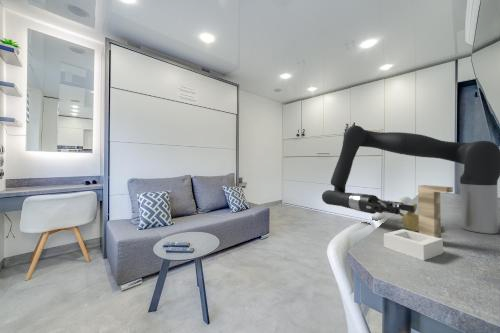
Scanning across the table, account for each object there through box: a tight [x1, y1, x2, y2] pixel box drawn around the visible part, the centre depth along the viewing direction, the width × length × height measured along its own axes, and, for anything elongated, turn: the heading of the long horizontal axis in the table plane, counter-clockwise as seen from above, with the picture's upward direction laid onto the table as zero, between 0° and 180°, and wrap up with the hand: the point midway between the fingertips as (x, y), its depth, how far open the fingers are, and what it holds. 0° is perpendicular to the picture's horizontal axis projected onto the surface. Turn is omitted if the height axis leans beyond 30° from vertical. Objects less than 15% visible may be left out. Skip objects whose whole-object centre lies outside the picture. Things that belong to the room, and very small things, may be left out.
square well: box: [383, 228, 444, 261], centre depth 58 cm, size 10×10×4 cm
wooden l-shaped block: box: [417, 184, 454, 239], centre depth 63 cm, size 4×7×18 cm, turn 25°
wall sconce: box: [378, 198, 442, 232], centre depth 83 cm, size 14×10×25 cm
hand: (406, 210), depth 70 cm, fingers open, 8 cm apart
